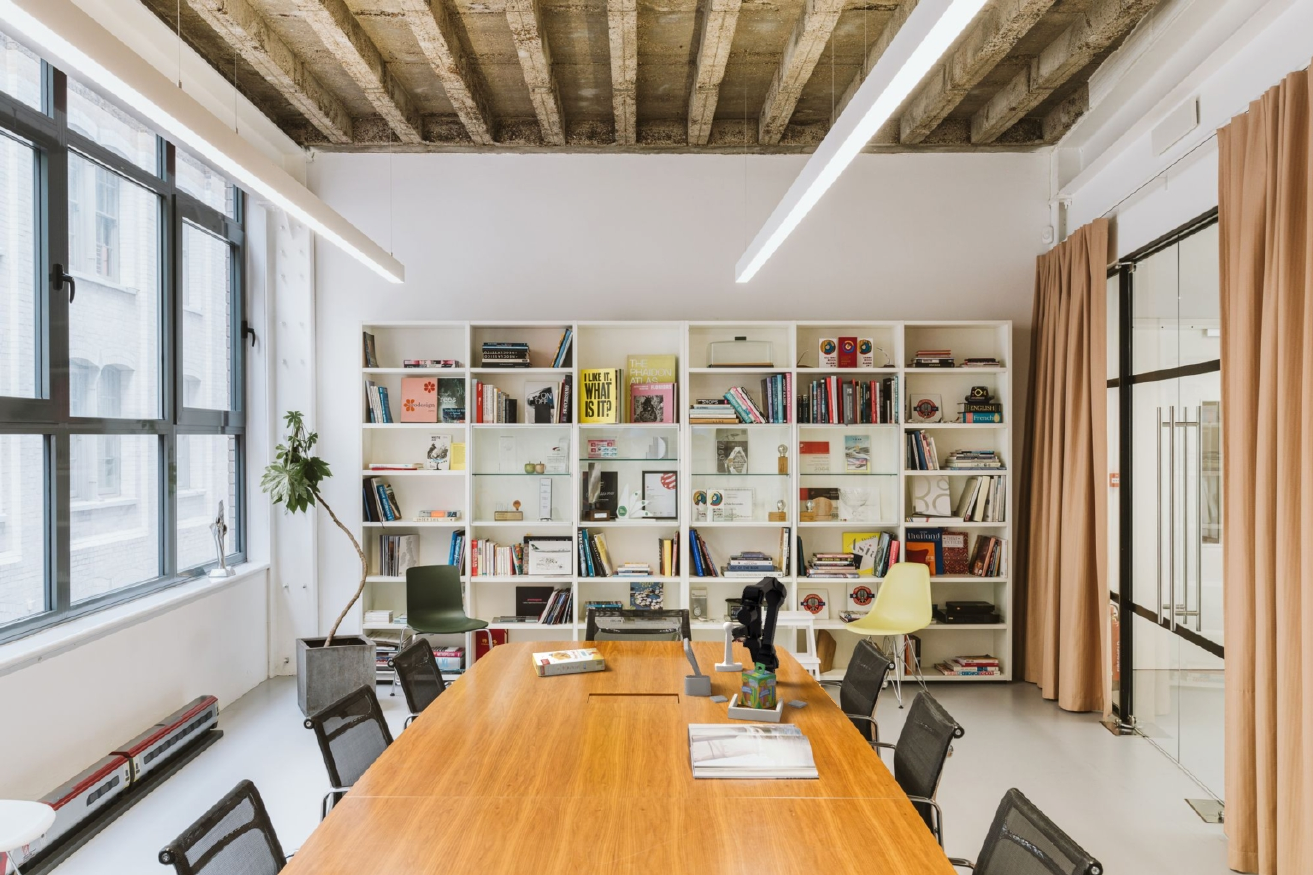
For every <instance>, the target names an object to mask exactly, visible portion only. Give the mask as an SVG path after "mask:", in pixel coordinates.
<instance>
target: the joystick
mask: <svg viewBox="0 0 1313 875" xmlns="http://www.w3.org/2000/svg"><path fill="white" fill-rule="evenodd" d="M733 628H735V627H734V624H733V622H732V621H726V622H724V623H723V626H722V629H723V631H724V632H725V639H724V640H725V641H724V661H722V663H719V662H718V663H717V662H715V663H714V669H715V672H723V673H725V672H727V673H728V672H742V671H743V663H742V662H734V657H733V656H734V654H733V642H732V641H733V640H732V637H733V636H732V632H731V631H732V629H733Z"/></svg>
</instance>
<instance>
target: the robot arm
mask: <svg viewBox="0 0 1313 875" xmlns="http://www.w3.org/2000/svg"><path fill="white" fill-rule="evenodd" d="M787 595H788V591H787V589H786V586H785V584H784V583H782V582H781V581H779V580H778V578H777V577H775V576H764V577H763V579H761V580H759V581H758V582H757V583H755V584H748V585H746V586H745V587H744V588H743V589H742V594H741V599H740V602H739V605H740V606H741V609H740V610H739V611H738V612H737V614H736V619H737V621H738V623H740V625H739V626H736V627H734V628H733V629H732V631H731V632H732V633H731V637H733V640H736V639H738V638H741V637H745V638H744V639H743V641H742V647H743V648H747V649H748V651H749V654H750V659H751V661H752V663H754V664H753V665H754V666H755V665H756V663H761V664H764V665H765V666H766V667H765V670H766V671H769V672H771V673H774V674H776V670H777V669H779V668H780V660H779V658H778V656H777V649H776V647H775V644H774V641H775V635H776V628H777V624H778V617H779V611H780V609H781V607H782V606H783V604H785V601H786V598H787ZM764 601H766V606H767V607H766V612H765V618H764V625H763V617H762V616H763V615H762V614H763V613H762V609H763V608H762V606H763V604H764ZM758 669H762V667H760V666H759V667H758ZM778 683H779V681H778V680H776V684H778Z"/></svg>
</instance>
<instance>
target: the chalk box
mask: <svg viewBox="0 0 1313 875" xmlns="http://www.w3.org/2000/svg"><path fill="white" fill-rule="evenodd" d="M759 666H760V667H762V669H758V667H759ZM765 667H766V666H765V665H764V664H761V663H756V665H754V669H752V670H747V671H744V672H741V699H740V700H741V703H740V704H741V705H744V706H746V707H747V708H750V709H763V710H767V709H770V708H773V707H777V683H776V681H777V674H776V673H775V674H774V673H771V672H769V671H766V670H765Z"/></svg>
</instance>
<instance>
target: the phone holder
mask: <svg viewBox="0 0 1313 875" xmlns="http://www.w3.org/2000/svg"><path fill="white" fill-rule="evenodd" d="M683 650H684V654H685V657H686V659H687V661H688V663H689V664H690V666H691V667H692V670H693V672H694V674H688V675H685V676H684V695H685V696H689V697H690V696H691V697H692V696H694V697H695V696H696V697H697V696H701V697H702V696H707V697H708V696H709V697H710V696H711V695H712V688H711V683H712V682H711V676H710V675H707V674H702V672H701V669H700V666H699V664H698V661H697V658H696V655H695V653H694V651H693V648H692V645H691V642H690V640H689V638H688V637H686V638H683Z"/></svg>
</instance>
